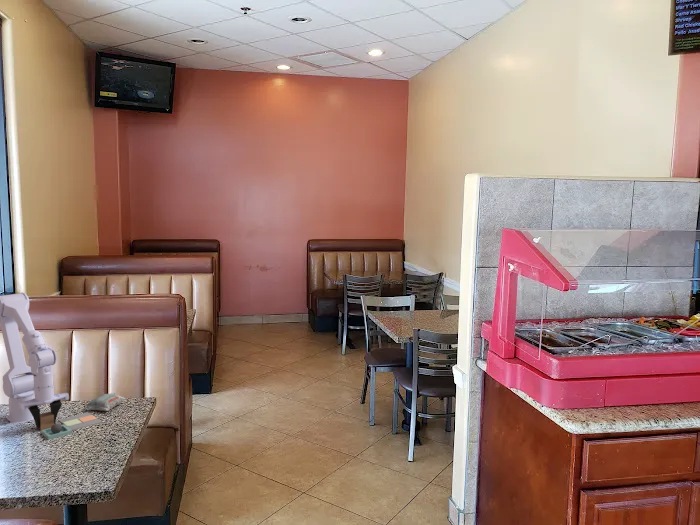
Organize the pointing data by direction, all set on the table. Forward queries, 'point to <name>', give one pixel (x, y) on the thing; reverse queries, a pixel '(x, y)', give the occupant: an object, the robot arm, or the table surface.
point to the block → (46, 420)
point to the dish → (63, 432)
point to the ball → (56, 428)
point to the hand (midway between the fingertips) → (45, 425)
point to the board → (80, 421)
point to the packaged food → (105, 402)
